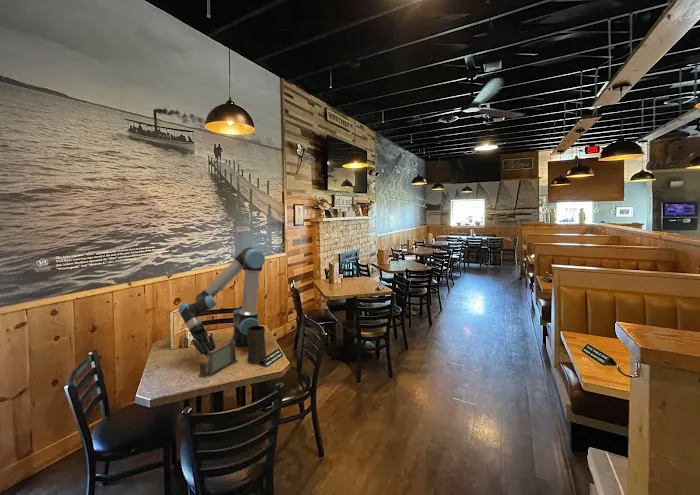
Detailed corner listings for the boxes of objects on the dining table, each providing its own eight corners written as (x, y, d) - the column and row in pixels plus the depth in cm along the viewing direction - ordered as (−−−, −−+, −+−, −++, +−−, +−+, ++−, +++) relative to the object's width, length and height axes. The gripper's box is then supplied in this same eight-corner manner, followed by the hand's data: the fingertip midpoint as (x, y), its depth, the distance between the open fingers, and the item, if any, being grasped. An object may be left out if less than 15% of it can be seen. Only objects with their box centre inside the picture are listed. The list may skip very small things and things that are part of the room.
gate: (230, 360, 196) (229, 341, 195) (233, 361, 196) (232, 342, 195) (208, 373, 181) (207, 353, 180) (211, 373, 180) (210, 353, 179)
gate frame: (233, 360, 200) (232, 338, 199) (237, 361, 198) (236, 340, 197) (198, 376, 180) (197, 352, 179) (202, 377, 178) (201, 353, 177)
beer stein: (265, 363, 195) (264, 329, 194) (246, 365, 193) (245, 330, 192) (267, 354, 210) (266, 322, 209) (249, 355, 208) (249, 323, 208)
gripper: (203, 327, 201) (222, 361, 194) (182, 334, 190) (201, 370, 183) (209, 320, 198) (228, 354, 191) (187, 327, 186) (207, 363, 179)
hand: (215, 362), depth 187 cm, fingers closed
